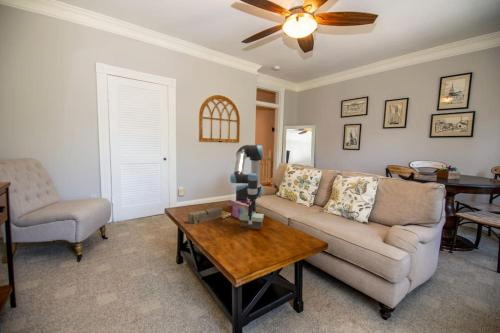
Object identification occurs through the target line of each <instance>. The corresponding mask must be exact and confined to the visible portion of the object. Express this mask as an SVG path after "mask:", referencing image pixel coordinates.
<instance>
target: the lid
mask: <svg viewBox="0 0 500 333" xmlns="http://www.w3.org/2000/svg"><path fill="white" fill-rule="evenodd" d="M247 215H248V213H247V212H243V213H242V214H241V215H240V219H239V221H241V220H247V221H249V216H247ZM264 218H265V215H264V213H258V212H257V213H252V221H257V222H262V220H263V221H264Z"/></svg>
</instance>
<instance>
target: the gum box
mask: <svg viewBox="0 0 500 333" xmlns="http://www.w3.org/2000/svg"><path fill="white" fill-rule="evenodd" d="M248 208H249V202H248V203H247V202H243V201H240V200H238V201H236V200H235V201H232V217H234V218H236V219H238V220H240V215H241V214H242V213H243V212H247V213H248ZM256 212H257V210H256V211H255V213H256Z"/></svg>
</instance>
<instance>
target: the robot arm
mask: <svg viewBox="0 0 500 333" xmlns="http://www.w3.org/2000/svg"><path fill="white" fill-rule="evenodd" d="M235 157H236V160H235V165H234V170H233V171H234V172H233V173H231V174H230V177H229V178H230V183H231V184H238V185H236V186H235V201H238V200H240V201H243V202H247V203H249V208H248V215H247V216H249V221H248V224H252V213H255V211H256V212H257V205H256V200H257V199H259V198H262V196H263V188H264V186H262V184H261V183H260V182H261V161H262V159H264V149H263V146H262V145H258V144H246V145H242V146H240V147H239V148H238V150H237V152H236V154H235ZM247 158H249V160H250V162H251V164H250V169H251V170H250V172H251V173H247V174H244V168H245V163H246V162H245V161H246V159H247ZM248 200H249V201H248Z"/></svg>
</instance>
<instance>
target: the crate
mask: <svg viewBox="0 0 500 333" xmlns="http://www.w3.org/2000/svg"><path fill="white" fill-rule="evenodd" d="M263 222H264V219H263V220H262V222H257V221H252V224H248V221H247V220H240V228H244V229H254V230H255V229H256V230H262V229H263V226H264V225H263V224H264V223H263Z"/></svg>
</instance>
